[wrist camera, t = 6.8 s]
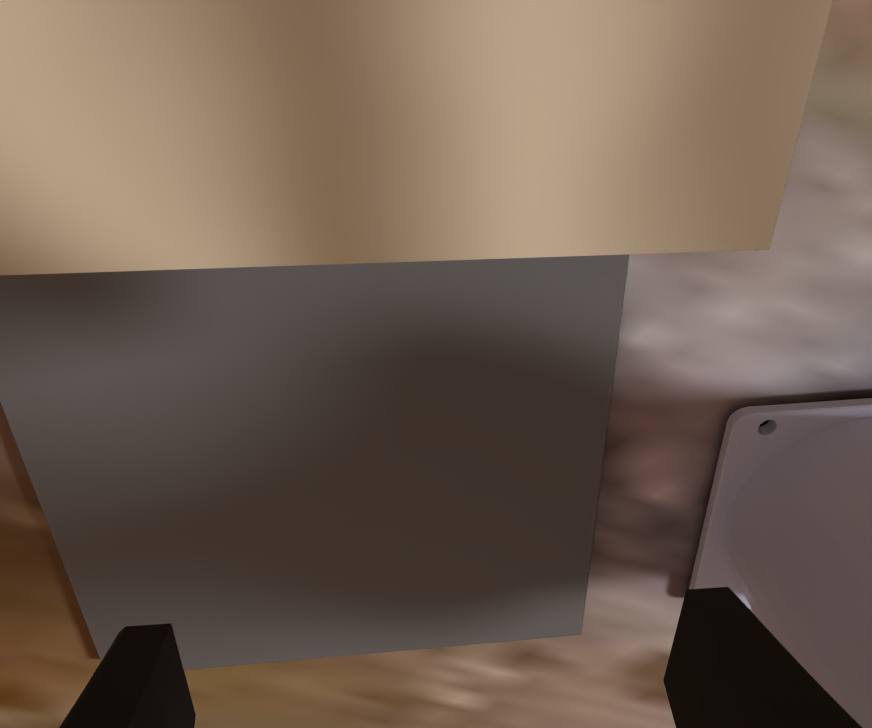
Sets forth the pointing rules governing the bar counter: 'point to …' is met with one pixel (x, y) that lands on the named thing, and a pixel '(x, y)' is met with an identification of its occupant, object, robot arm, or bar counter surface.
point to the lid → (393, 129)
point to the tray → (318, 448)
